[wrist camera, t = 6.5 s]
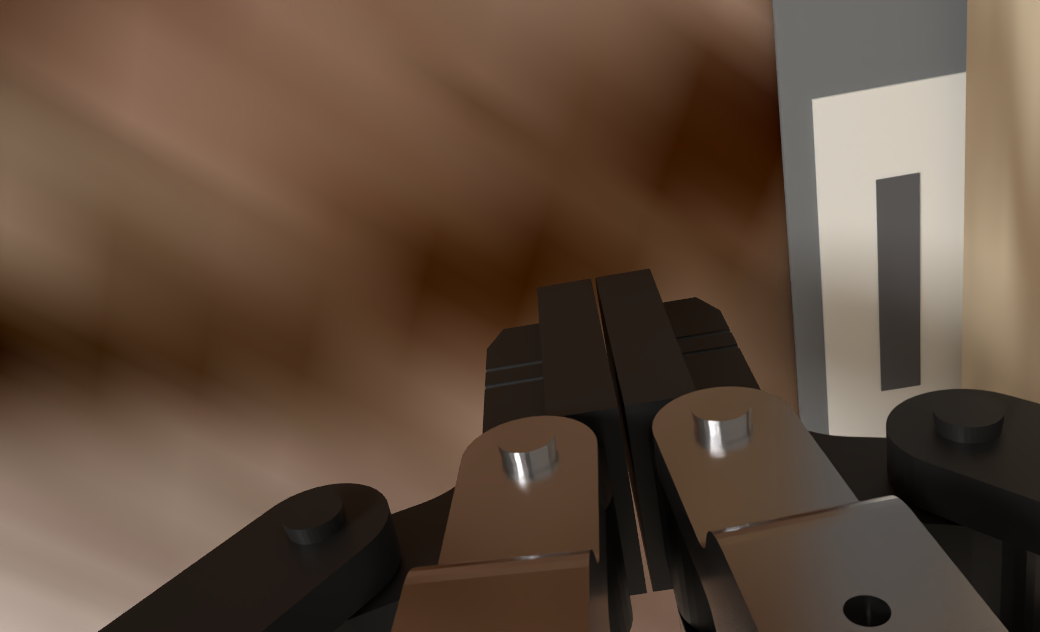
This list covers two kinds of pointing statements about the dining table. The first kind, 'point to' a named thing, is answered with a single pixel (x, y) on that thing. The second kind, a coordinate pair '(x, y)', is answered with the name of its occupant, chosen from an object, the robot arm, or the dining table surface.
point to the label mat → (873, 202)
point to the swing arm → (1002, 199)
